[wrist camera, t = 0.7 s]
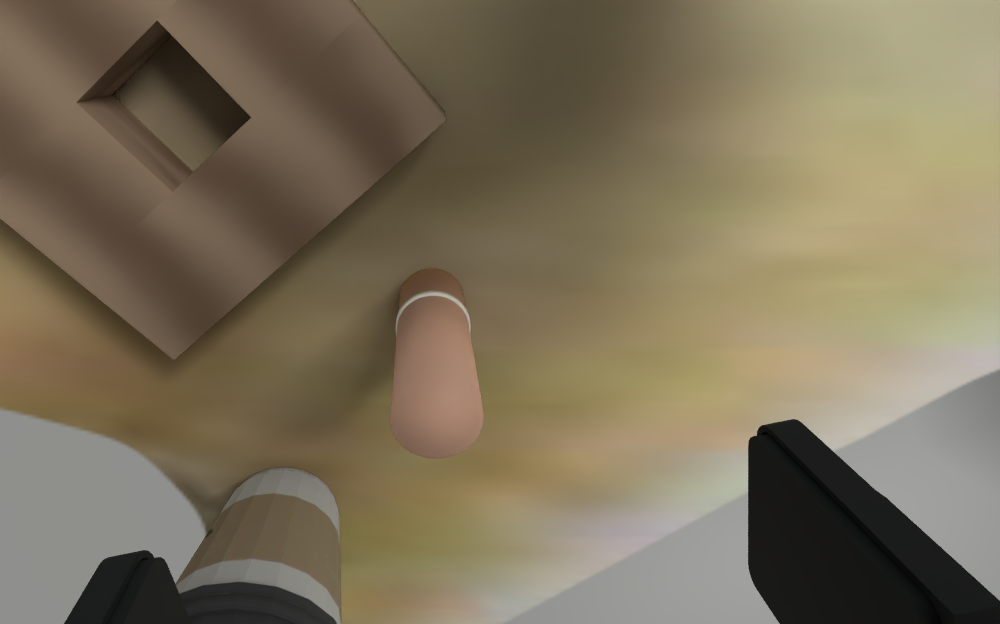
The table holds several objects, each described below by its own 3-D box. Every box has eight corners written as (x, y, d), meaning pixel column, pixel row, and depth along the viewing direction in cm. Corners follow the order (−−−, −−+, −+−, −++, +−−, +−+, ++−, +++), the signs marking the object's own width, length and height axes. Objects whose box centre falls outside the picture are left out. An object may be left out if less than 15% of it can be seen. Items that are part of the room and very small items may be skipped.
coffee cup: (196, 435, 43) (92, 623, 30) (373, 444, 45) (352, 625, 31) (201, 570, 48) (113, 789, 34) (363, 573, 49) (341, 783, 36)
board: (185, -202, 31) (153, -233, 27) (444, 111, 37) (446, 119, 33) (-86, 91, 34) (-147, 99, 30) (196, 330, 40) (173, 360, 37)
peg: (434, 253, 40) (442, 357, 27) (479, 301, 42) (505, 421, 29) (383, 296, 41) (367, 417, 28) (429, 342, 43) (433, 476, 30)
